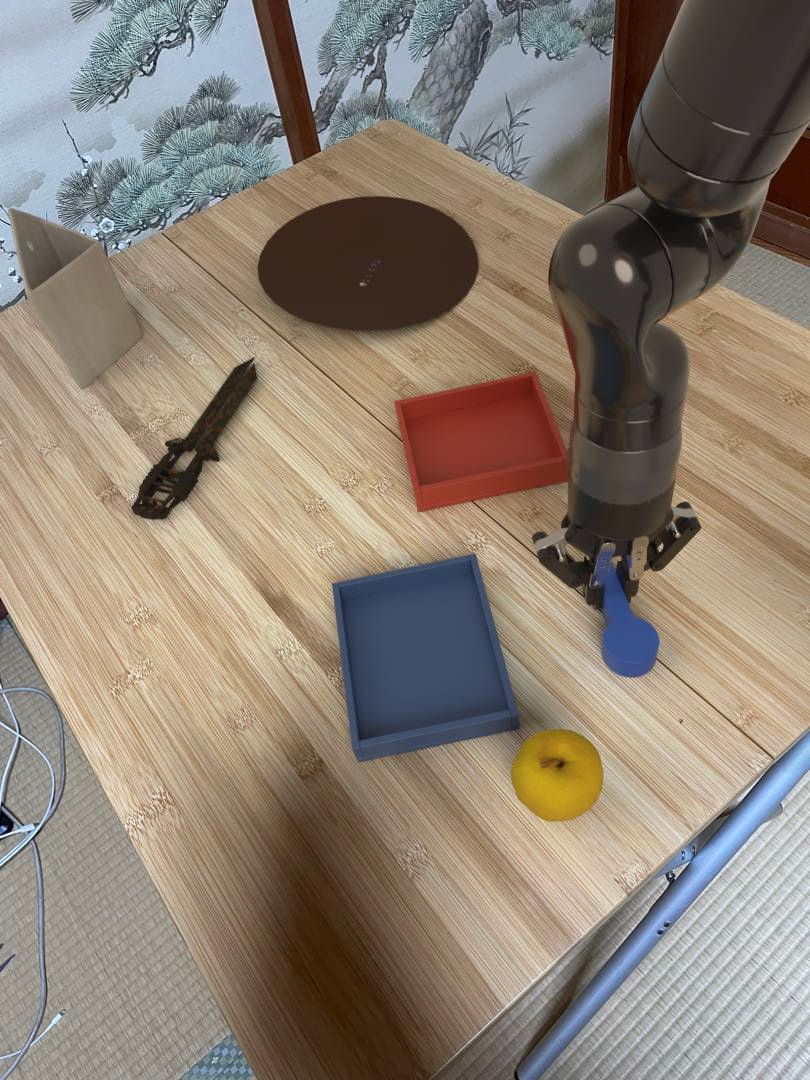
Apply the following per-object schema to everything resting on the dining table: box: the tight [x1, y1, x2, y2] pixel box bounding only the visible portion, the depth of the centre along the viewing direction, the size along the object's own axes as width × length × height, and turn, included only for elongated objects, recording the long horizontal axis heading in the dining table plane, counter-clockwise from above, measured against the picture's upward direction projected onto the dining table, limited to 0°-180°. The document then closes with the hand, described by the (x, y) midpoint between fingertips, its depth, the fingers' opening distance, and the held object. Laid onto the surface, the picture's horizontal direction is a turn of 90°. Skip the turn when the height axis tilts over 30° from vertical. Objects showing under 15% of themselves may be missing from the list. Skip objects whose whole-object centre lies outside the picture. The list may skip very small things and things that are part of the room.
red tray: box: [393, 371, 569, 513], centre depth 85 cm, size 15×13×3 cm
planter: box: [7, 207, 144, 390], centre depth 99 cm, size 16×8×19 cm, turn 11°
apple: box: [510, 728, 604, 823], centre depth 60 cm, size 6×6×8 cm
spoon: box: [600, 560, 660, 678], centre depth 71 cm, size 11×4×2 cm, turn 9°
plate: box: [257, 195, 479, 331], centre depth 107 cm, size 28×28×4 cm
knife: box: [131, 356, 258, 521], centre depth 92 cm, size 25×6×1 cm, turn 154°
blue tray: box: [331, 553, 520, 763], centre depth 71 cm, size 13×16×3 cm
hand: (609, 597), depth 72 cm, fingers closed on spoon, 2 cm apart
